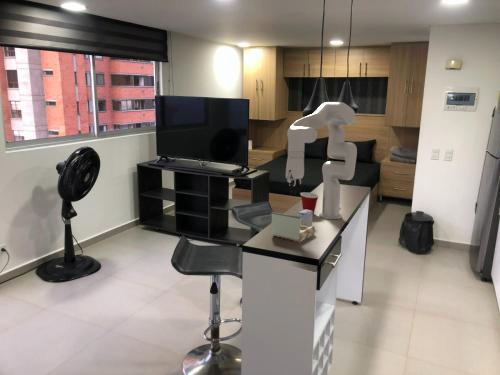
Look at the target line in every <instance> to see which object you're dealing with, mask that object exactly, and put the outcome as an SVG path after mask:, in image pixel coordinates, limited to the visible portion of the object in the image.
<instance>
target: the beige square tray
mask: <svg viewBox="0 0 500 375" xmlns="http://www.w3.org/2000/svg"><path fill="white" fill-rule="evenodd" d="M315 228H316V227H315V225H312V226H310V227H307V226H302V225H300V239H299V240H296V239H292V238H288V237H283V236H279V235H274V234H272V236H273V235H274V236H278V237H282V238H281V239H283V238H286V239H285V240H287V239H290V240H289V241H291V240H295V241H294V242H296V241H299V242H298V243H302V242H304V241H305V240H304V239H306V238H308V237H309V238H311V237H313V236H314V235H315ZM312 235H313V236H312ZM274 236H273V237H274ZM310 236H311V237H310ZM278 237H277V238H278ZM309 238H308V239H309ZM303 240H304V241H303ZM306 240H307V239H306ZM301 241H302V242H301Z"/></svg>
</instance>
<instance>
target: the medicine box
mask: <svg viewBox="0 0 500 375" xmlns="http://www.w3.org/2000/svg"><path fill="white" fill-rule="evenodd" d="M313 216H314V215H313V211H311V210H307V209H305V210H303V209H302V210H300V211H298V212H297V217H300V225H302V226H307V227H310V226H313Z"/></svg>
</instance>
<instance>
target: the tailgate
mask: <svg viewBox="0 0 500 375" xmlns="http://www.w3.org/2000/svg"><path fill="white" fill-rule="evenodd" d="M270 234H271V235H273V234H274V235H279V236H283V237H288V238H292V239H296V240H299V239H300V217H298V215H297V216H296V215H292V214H286V213H280V212H275V211H272V212H271V233H270Z"/></svg>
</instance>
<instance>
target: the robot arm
mask: <svg viewBox="0 0 500 375" xmlns="http://www.w3.org/2000/svg"><path fill="white" fill-rule="evenodd" d="M355 121H356V113H355V110H354V109H353V108H352V107H351V106H349V104H346V103H345V102H342V101H326V102H323V103H321V104H320V106H318V107H317V109H315V110H314V111H313V113H312V114H309V115H307V116H304V117H302V118H301V117H300V119H297V120H295V121H294V122H293V123H292V124H291V125H290V127H289V128H288V130H287V132H286V136H287V140H288V142H287V143H288V144H287V145H288V146H287V159H286V167H285V178H286V181H287V183H289V184H288V185H289V195H290V194H291V195H297V193H298V194H301V184H302V180H303V178H304V176H305V144H311V143H314V142H315V141H316V140H317V138H318V131H317V130H319V129H320V130H321V129H322V128H324V127H325V126H327V129H328V141H327V142H328V143H327V152H326V153H327V157H328V158H330V159H333V160H329V161H326V162H324V163H323V164H322V168H321V170H322V171H321V172H322V179H323V186H322V187H323V189H322V204H321V205H322V210H321V212H319V215H318V216H319V217H320V218H321V219H326V220H339V219H342V218H343V214H341V213H340V211H341V210H342V208H341V205H340V204H341V190H342V188H341V184H340V182H339V180H343V181H350V180H352V179H353V178H354V176H355V171H356V169H355V168H356V163H357V156H358V155H357V154H358V152H357V151H358V149H357V145H356V144H355V143H354V142H349V141H348V142H347V141H345V139H346V138H345V137H346V130H345V129H344V127H343V126H351V125H353V124H354V123H355ZM334 159H335V160H337V161H334ZM338 160H343V161H338Z"/></svg>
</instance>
